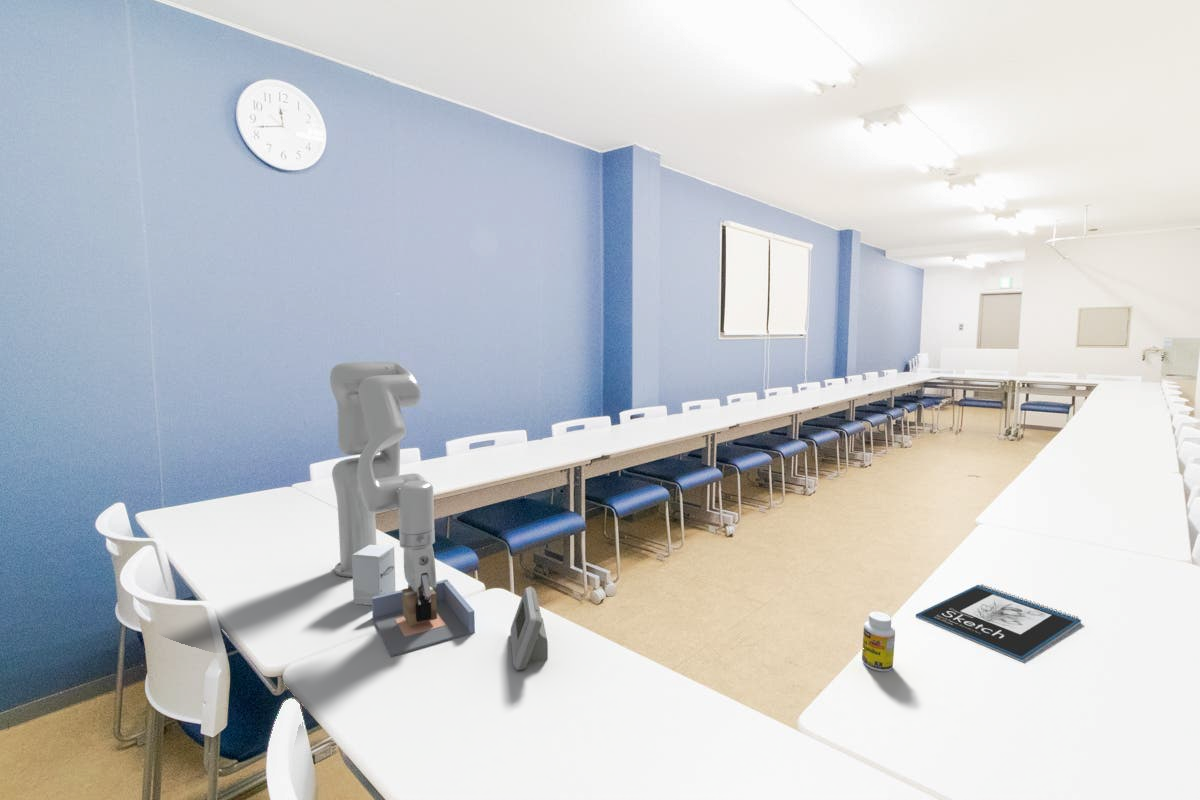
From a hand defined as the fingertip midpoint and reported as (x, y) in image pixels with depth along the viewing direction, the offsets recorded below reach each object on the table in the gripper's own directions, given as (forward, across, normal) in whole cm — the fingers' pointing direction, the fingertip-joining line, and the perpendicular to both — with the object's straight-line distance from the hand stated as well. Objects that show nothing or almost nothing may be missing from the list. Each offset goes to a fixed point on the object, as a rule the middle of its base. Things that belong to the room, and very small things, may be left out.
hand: (419, 612), depth 126 cm
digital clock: (+3, -22, -16) cm, 28 cm away
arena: (+3, -1, 0) cm, 3 cm away
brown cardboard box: (+1, 0, 0) cm, 1 cm away
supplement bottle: (+3, -65, -72) cm, 98 cm away
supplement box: (+3, +19, +6) cm, 20 cm away
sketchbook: (+3, -70, -114) cm, 134 cm away
